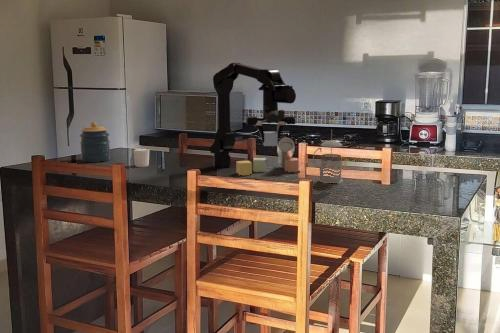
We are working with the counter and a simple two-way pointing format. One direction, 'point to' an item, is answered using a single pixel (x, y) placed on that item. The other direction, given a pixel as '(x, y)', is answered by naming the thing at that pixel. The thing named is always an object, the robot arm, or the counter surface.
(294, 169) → the terracotta block
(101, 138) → the canister
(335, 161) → the french press
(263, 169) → the sage block
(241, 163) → the ochre block
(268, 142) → the grey cube
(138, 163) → the white cup
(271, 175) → the counter surface
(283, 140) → the beer glass
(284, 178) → the counter surface
